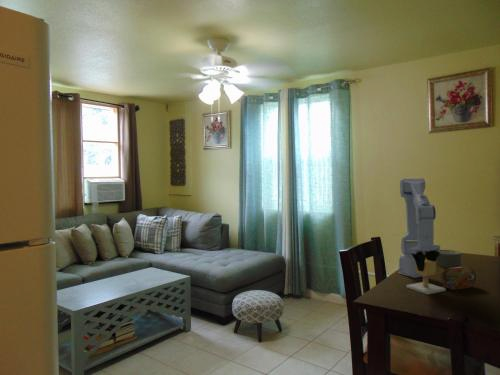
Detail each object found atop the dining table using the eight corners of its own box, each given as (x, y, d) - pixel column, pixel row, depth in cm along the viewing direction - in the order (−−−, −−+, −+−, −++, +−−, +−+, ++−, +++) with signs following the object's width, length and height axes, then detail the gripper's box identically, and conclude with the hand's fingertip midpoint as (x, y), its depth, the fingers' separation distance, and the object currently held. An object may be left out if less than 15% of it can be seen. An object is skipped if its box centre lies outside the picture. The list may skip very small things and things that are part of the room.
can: (433, 262, 191) (433, 249, 191) (459, 263, 186) (459, 250, 186) (435, 267, 180) (435, 253, 180) (463, 269, 175) (463, 255, 175)
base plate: (406, 287, 147) (406, 275, 147) (423, 284, 152) (423, 272, 151) (427, 294, 138) (427, 281, 138) (445, 290, 142) (445, 278, 142)
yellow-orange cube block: (416, 272, 146) (416, 260, 146) (424, 271, 148) (424, 259, 148) (426, 275, 141) (426, 262, 141) (435, 274, 143) (435, 261, 143)
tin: (446, 290, 143) (446, 269, 142) (440, 288, 146) (439, 267, 145) (476, 287, 147) (476, 266, 146) (470, 285, 150) (470, 264, 149)
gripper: (421, 238, 138) (421, 274, 138) (447, 235, 144) (447, 270, 144) (406, 236, 144) (406, 270, 144) (431, 233, 150) (431, 266, 151)
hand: (425, 269), depth 145 cm, fingers closed on yellow-orange cube block, 5 cm apart
